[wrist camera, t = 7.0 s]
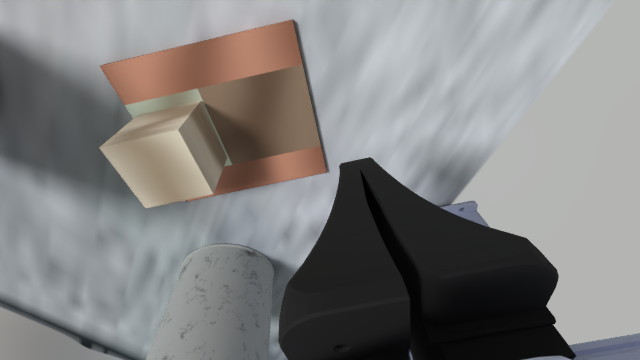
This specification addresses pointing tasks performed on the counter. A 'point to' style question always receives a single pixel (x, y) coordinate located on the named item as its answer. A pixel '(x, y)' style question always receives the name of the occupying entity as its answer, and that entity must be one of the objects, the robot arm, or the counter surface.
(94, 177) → the counter surface
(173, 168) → the birch block
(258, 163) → the board
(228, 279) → the grey marbled cylinder
